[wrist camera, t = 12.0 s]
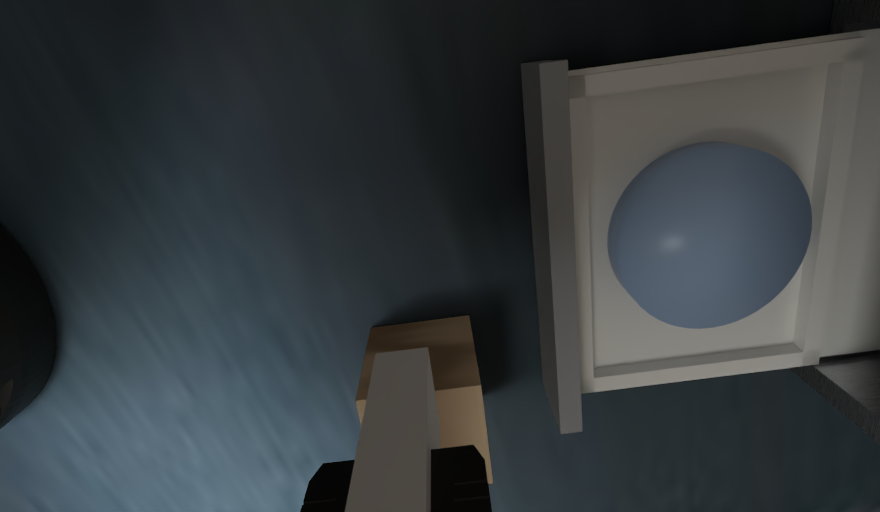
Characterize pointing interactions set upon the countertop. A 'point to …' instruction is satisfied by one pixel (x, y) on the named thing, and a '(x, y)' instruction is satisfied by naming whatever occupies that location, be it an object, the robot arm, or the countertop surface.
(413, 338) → the block
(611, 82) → the tray
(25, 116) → the countertop surface
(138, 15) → the countertop surface
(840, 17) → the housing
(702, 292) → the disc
